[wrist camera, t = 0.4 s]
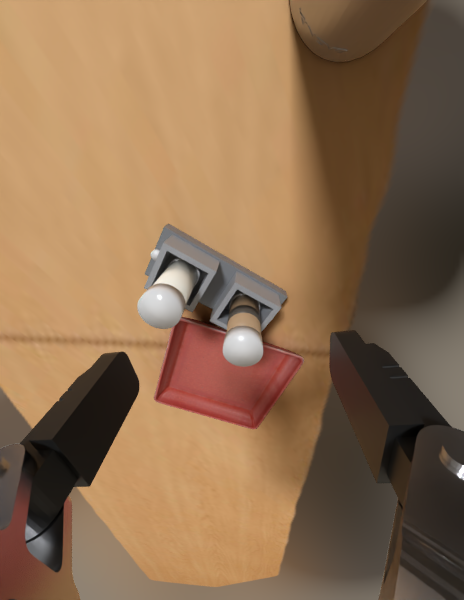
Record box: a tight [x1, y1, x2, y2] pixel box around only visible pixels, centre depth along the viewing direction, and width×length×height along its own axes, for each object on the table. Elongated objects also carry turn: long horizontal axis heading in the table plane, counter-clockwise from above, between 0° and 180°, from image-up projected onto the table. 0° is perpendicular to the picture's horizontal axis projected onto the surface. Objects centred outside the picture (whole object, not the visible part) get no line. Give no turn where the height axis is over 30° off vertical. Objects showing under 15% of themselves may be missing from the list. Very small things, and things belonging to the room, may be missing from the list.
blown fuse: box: [223, 290, 263, 367], centre depth 24 cm, size 4×4×9 cm
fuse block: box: [144, 224, 287, 332], centre depth 27 cm, size 6×16×4 cm, turn 60°
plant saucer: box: [154, 317, 304, 429], centre depth 35 cm, size 18×18×3 cm
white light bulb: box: [138, 256, 201, 329], centre depth 23 cm, size 4×4×9 cm
